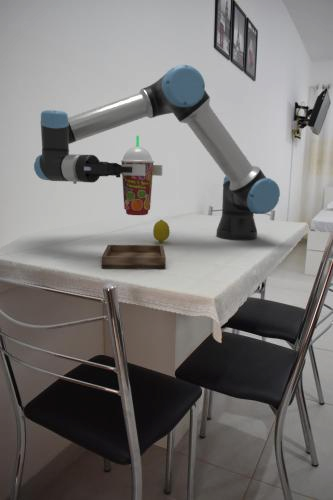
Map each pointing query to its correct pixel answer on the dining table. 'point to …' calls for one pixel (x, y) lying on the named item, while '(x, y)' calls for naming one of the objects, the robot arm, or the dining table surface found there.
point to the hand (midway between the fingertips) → (153, 170)
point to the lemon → (161, 231)
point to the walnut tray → (134, 257)
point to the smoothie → (137, 182)
